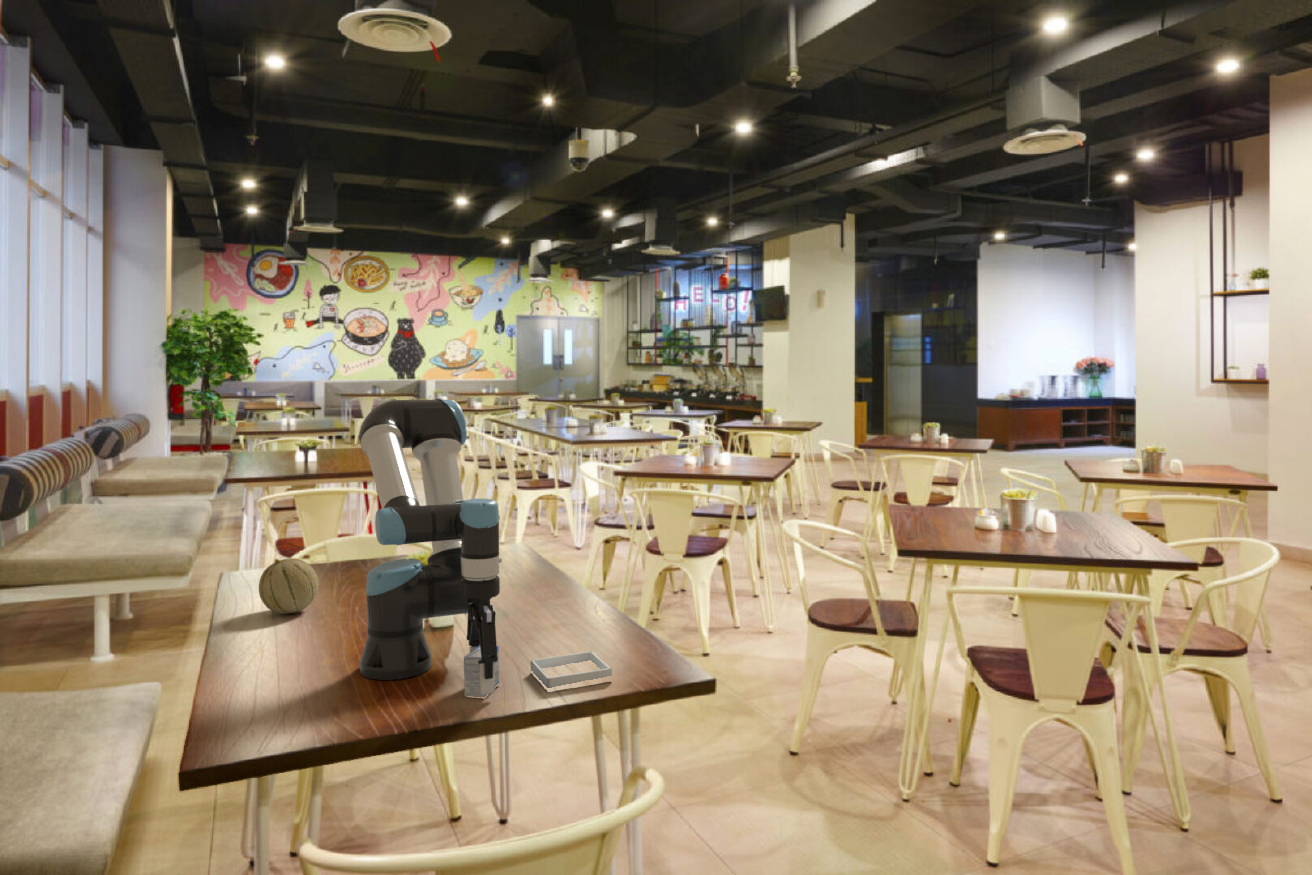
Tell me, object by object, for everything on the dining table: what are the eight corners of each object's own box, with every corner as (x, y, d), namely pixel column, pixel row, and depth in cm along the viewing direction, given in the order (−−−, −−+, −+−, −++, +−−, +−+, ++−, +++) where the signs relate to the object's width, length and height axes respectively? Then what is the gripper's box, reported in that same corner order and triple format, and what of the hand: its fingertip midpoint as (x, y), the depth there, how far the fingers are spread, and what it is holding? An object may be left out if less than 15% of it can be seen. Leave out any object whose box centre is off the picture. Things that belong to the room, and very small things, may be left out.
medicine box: (484, 700, 170) (484, 657, 170) (463, 698, 171) (463, 656, 170) (499, 685, 178) (499, 645, 177) (479, 683, 179) (479, 643, 178)
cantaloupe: (331, 609, 232) (329, 555, 230) (283, 624, 219) (281, 566, 218) (295, 601, 239) (293, 549, 238) (247, 615, 227) (245, 559, 225)
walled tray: (547, 692, 174) (547, 678, 174) (530, 673, 185) (530, 659, 185) (611, 682, 180) (611, 668, 180) (591, 664, 191) (591, 651, 191)
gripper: (513, 586, 164) (514, 700, 166) (486, 563, 184) (487, 665, 186) (474, 591, 161) (475, 707, 163) (451, 566, 181) (452, 670, 183)
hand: (482, 684), depth 174 cm, fingers closed on medicine box, 9 cm apart
